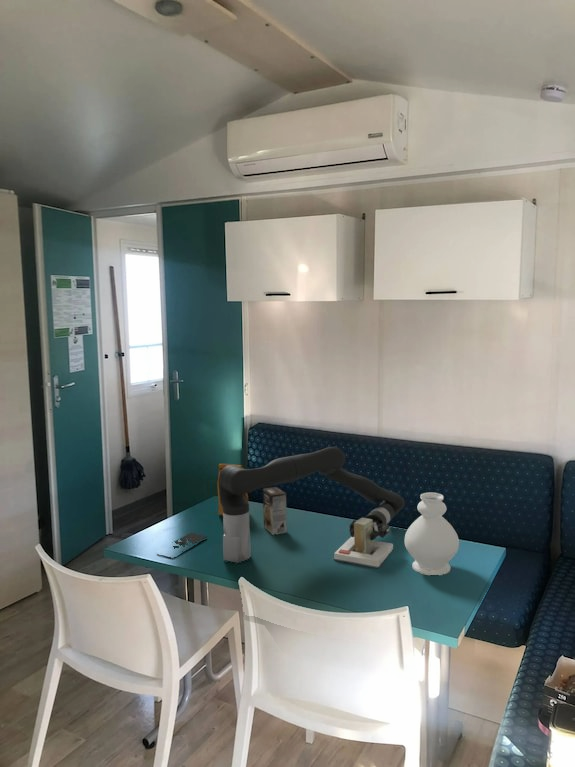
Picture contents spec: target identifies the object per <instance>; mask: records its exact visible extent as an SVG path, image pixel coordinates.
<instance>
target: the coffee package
mask: <svg viewBox="0 0 575 767" xmlns="http://www.w3.org/2000/svg"><path fill="white" fill-rule="evenodd" d="M227 465H235V466H238V467H240V468H243V469H244V466H243V465H241V464H233V463H219V464H218V477H217V482H216V485H217V486H216V487H217V501H218V515H219V516H223V508H222V505H221V502H220V494H219V475H220V472H221V470H222V469H223V468H224V467H225V466H227ZM248 494H249V493H246V494H243V495H244V497H245V499H246V500H247V501H248V502H249V496H248Z"/></svg>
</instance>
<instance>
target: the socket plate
mask: <svg viewBox="0 0 575 767" xmlns="http://www.w3.org/2000/svg"><path fill="white" fill-rule="evenodd" d="M392 550H394V543H392V542H391V543H389V542H384V541H378V540H373V552H372V553H371V554H364V553H358V552H355V541H354V537H351V536H350V538H348V539H347V540H346V541H345V542H344V543H343V544H342V545H341V546H340V547H339V548H338V549H337V550H336V551H335V552H334V553H333V554H334V556H333V558H334V559H333V560H334V561H338V562H343V563H348V564H354V565H359V566H364V567H369V568H374V569H379V568H380V567H381V566H382V564H383V563H384V562H385V561H386V559H388V557H389V556H390V555H391V553H392V552H393V551H392ZM389 554H390V555H389Z"/></svg>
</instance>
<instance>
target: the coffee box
mask: <svg viewBox="0 0 575 767" xmlns="http://www.w3.org/2000/svg"><path fill="white" fill-rule="evenodd" d="M262 507H263V511H262V512H263V528H264V529H265V530H266V529H267V530H268V531H267V530H266V531H267V532H269V533H270V534H271V535H272V536H275V535H274V534H276V535H280V534H285V533H287V532H288V531H287V530H288V528H287V493H286V492H285V491H284V490H282V489H281V488H279V487H278V486H274V487H273V486H272V487H264V488H262Z"/></svg>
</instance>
